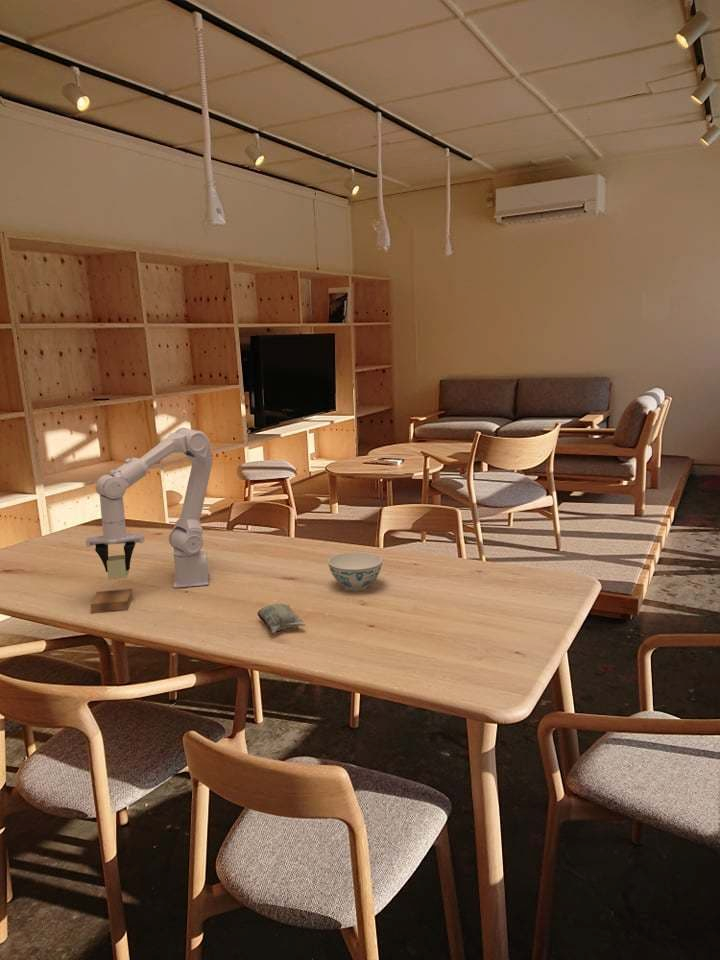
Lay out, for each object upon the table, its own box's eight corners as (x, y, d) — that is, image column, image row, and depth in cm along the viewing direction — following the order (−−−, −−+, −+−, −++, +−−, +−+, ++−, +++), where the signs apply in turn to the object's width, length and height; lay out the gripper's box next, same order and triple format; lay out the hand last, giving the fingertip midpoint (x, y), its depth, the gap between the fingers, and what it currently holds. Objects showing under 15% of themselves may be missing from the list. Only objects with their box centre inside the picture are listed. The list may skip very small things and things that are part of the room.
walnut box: (132, 599, 189) (131, 588, 189) (128, 611, 181) (127, 601, 180) (98, 602, 188) (96, 591, 187) (91, 615, 179) (90, 604, 179)
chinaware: (320, 583, 197) (319, 557, 195) (367, 574, 203) (366, 548, 202) (343, 600, 184) (342, 572, 182) (393, 590, 190) (392, 563, 189)
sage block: (128, 572, 189) (127, 554, 188) (126, 577, 185) (124, 559, 184) (111, 573, 188) (109, 555, 187) (108, 579, 184) (106, 561, 183)
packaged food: (290, 614, 176) (289, 596, 174) (306, 632, 165) (305, 613, 164) (256, 621, 172) (255, 603, 171) (270, 640, 162) (269, 620, 160)
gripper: (81, 526, 178) (86, 576, 181) (140, 522, 181) (144, 572, 183) (86, 519, 185) (91, 568, 188) (143, 516, 187) (147, 564, 190)
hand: (118, 570), depth 186 cm, fingers closed on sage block, 4 cm apart
